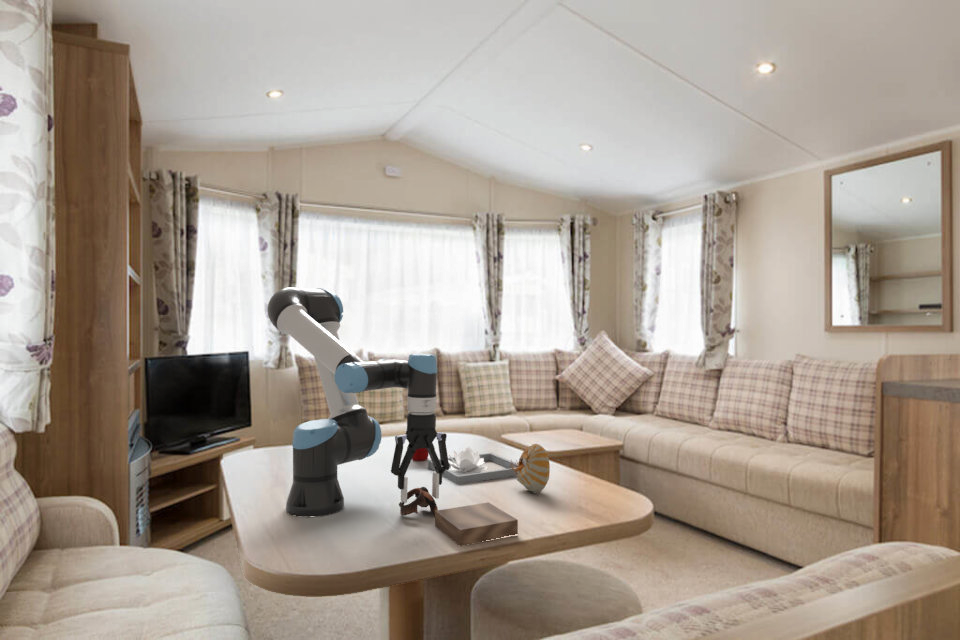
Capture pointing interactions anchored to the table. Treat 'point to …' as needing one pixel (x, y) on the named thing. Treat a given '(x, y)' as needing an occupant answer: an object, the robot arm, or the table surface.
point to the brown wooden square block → (475, 523)
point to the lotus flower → (467, 462)
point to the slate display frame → (482, 475)
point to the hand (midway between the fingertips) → (419, 499)
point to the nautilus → (533, 468)
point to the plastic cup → (420, 454)
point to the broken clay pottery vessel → (418, 501)
